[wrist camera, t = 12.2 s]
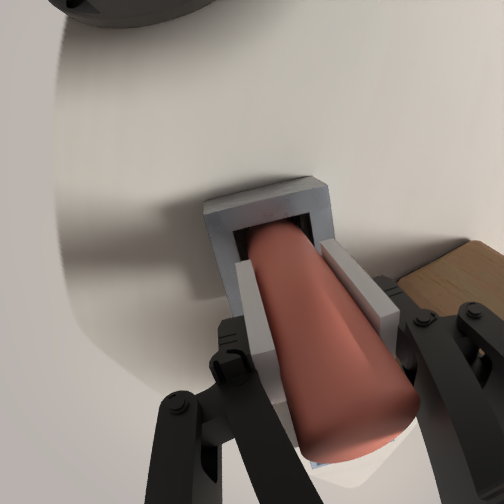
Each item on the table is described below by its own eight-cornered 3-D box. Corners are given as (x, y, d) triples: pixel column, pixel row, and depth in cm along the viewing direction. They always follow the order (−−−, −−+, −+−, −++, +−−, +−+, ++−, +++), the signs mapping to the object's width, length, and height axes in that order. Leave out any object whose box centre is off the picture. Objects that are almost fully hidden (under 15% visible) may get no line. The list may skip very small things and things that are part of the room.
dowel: (239, 221, 19) (292, 418, 6) (296, 207, 19) (430, 368, 6) (252, 272, 21) (305, 473, 8) (304, 258, 21) (410, 436, 8)
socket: (204, 201, 19) (203, 214, 17) (311, 175, 19) (327, 185, 17) (231, 295, 22) (234, 319, 19) (325, 270, 22) (340, 291, 20)
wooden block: (399, 356, 28) (498, 515, 9) (389, 278, 23) (553, 474, 5) (472, 313, 27) (583, 433, 9) (474, 233, 23) (637, 355, 5)
